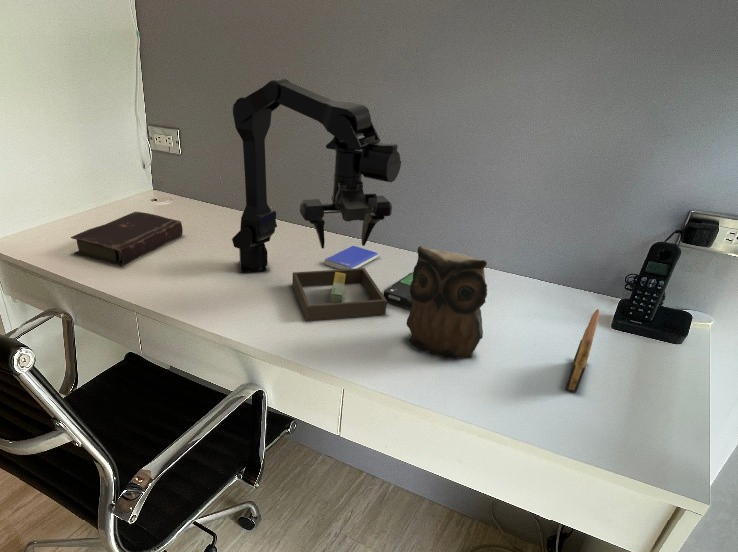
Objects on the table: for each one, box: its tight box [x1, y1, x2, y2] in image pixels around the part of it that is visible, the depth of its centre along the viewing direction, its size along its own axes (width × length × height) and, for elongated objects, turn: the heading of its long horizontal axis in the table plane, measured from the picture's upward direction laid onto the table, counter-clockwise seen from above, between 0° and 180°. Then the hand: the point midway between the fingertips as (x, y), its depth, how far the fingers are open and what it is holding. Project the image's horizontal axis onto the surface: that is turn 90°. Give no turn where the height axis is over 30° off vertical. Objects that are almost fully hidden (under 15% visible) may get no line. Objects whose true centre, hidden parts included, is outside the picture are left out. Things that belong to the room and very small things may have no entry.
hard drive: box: [324, 245, 379, 270], centre depth 148 cm, size 2×8×12 cm
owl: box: [406, 245, 488, 359], centre depth 108 cm, size 13×13×20 cm
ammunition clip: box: [564, 308, 600, 394], centre depth 101 cm, size 11×2×12 cm, turn 149°
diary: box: [70, 211, 184, 267], centre depth 156 cm, size 19×25×5 cm
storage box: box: [291, 267, 388, 322], centre depth 129 cm, size 18×18×4 cm
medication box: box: [328, 272, 346, 303], centre depth 129 cm, size 12×3×4 cm, turn 171°
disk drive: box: [383, 271, 413, 310], centre depth 131 cm, size 10×3×15 cm
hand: (342, 246), depth 125 cm, fingers open, 9 cm apart
